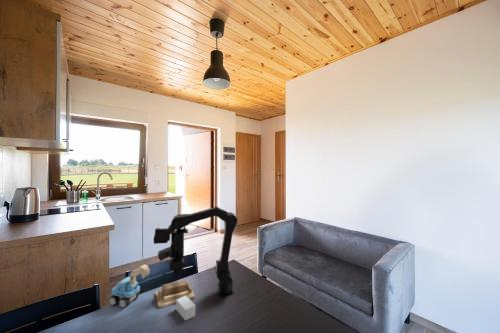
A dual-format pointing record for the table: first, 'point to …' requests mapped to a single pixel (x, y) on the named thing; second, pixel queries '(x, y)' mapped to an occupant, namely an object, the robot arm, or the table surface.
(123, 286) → the toy excavator
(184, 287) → the tan rectangular bar
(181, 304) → the light grey rectangular block
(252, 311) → the table surface
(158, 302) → the jig
